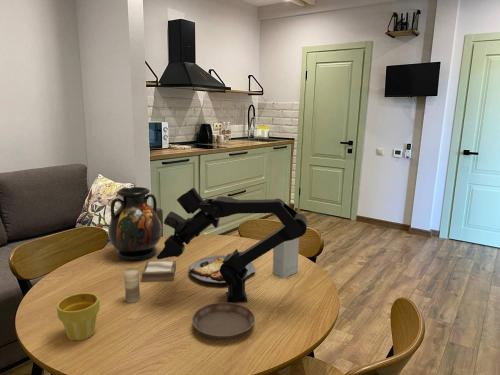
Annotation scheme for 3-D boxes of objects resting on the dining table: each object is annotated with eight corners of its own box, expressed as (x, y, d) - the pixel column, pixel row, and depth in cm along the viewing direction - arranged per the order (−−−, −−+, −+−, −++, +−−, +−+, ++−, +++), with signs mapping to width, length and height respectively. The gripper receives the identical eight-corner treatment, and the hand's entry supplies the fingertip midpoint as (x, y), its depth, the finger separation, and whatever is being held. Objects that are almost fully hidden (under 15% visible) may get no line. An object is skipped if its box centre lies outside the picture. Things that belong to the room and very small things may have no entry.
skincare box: (287, 267, 146) (288, 231, 143) (298, 273, 142) (300, 235, 139) (271, 273, 141) (272, 236, 138) (282, 279, 136) (284, 240, 133)
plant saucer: (222, 304, 119) (222, 295, 118) (266, 325, 108) (267, 315, 107) (179, 328, 105) (179, 319, 105) (225, 355, 94) (225, 344, 94)
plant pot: (55, 348, 95) (52, 313, 93) (64, 326, 105) (61, 294, 103) (99, 342, 98) (96, 308, 96) (103, 321, 108) (100, 290, 106)
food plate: (222, 293, 125) (222, 284, 124) (175, 275, 139) (175, 266, 138) (265, 271, 144) (265, 262, 144) (220, 257, 158) (220, 249, 158)
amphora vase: (119, 269, 143) (114, 198, 137) (103, 252, 160) (98, 188, 154) (171, 256, 156) (169, 191, 150) (151, 242, 172) (148, 182, 167)
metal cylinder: (138, 302, 119) (137, 273, 117) (124, 303, 118) (122, 274, 116) (141, 295, 123) (139, 267, 121) (127, 296, 122) (125, 268, 120)
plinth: (173, 280, 134) (173, 272, 133) (142, 281, 133) (141, 273, 132) (176, 267, 145) (175, 260, 144) (147, 269, 143) (146, 261, 143)
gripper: (186, 198, 128) (153, 225, 130) (173, 214, 110) (135, 244, 112) (207, 222, 129) (174, 248, 132) (197, 242, 111) (159, 271, 114)
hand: (161, 252), depth 122 cm, fingers open, 9 cm apart
